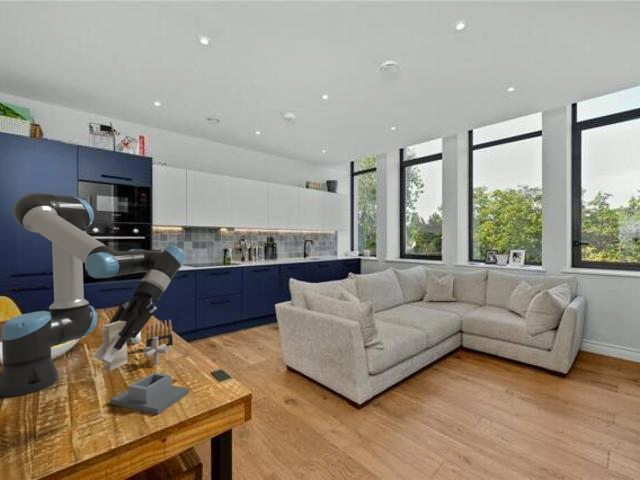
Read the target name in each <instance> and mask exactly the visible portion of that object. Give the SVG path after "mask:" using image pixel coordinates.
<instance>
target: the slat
mask: <svg viewBox="0 0 640 480" xmlns="http://www.w3.org/2000/svg"><path fill="white" fill-rule="evenodd" d="M125 326H126V321H117V322H114V323H110V324H109V323H108V324H104V325H102V342H103V353H104V354H105V352H106V351H107V349H108V348H109V347H110V345H111V344H112V342H113V341H114V339H115V338H116V337H117V335H119V333H121V332H122V331H123V330H124V328H125ZM119 336H121V335H119ZM126 364H128V341H126V342H125V344H124V345H123V347H122V348H121V349H120V350H119V351H118V353H117V354H116V356H115V357H114V359H113V360H112V362H111V363H109V362H107V361H105V360H104V359H103V369H104V370H108V371H113V370H114V369H117V368H119V367H121V366H123V365H126Z"/></svg>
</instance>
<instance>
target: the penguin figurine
mask: <svg viewBox="0 0 640 480" xmlns="http://www.w3.org/2000/svg"><path fill="white" fill-rule="evenodd" d="M141 331H142V330H141ZM141 331H140V332H139V333H138V335H137V336H136V337H135V338H130V339H128V340H127V342H128V341H129V340H131V341H129V342H130V343H131V344H135V345H137V344H138V343H140V342H141V340H142V336H141V335H142V332H141Z"/></svg>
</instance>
